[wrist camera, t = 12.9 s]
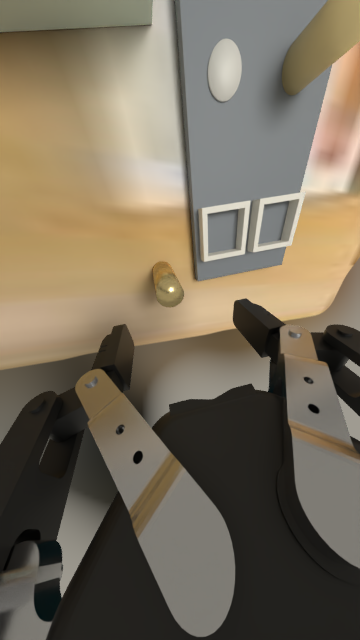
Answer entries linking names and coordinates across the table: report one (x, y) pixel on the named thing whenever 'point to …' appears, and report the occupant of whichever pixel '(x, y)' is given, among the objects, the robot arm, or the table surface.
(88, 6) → the block
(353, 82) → the table surface
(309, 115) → the board
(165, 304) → the pin
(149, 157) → the table surface
